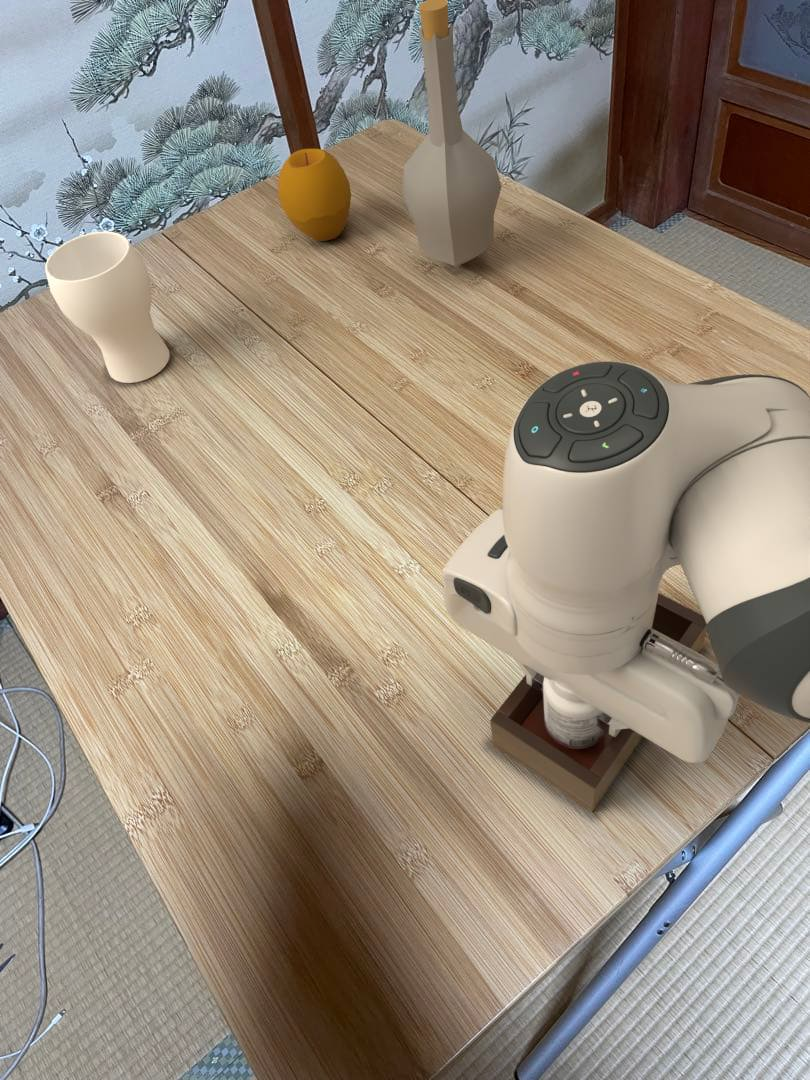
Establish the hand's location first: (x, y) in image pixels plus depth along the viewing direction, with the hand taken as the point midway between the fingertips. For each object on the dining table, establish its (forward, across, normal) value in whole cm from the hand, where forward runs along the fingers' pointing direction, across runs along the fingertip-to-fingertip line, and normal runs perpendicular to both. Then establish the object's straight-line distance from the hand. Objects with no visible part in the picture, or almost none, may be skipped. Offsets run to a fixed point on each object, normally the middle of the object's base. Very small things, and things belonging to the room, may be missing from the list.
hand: (575, 702), depth 62 cm
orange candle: (+6, +67, -43) cm, 80 cm away
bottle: (+6, +46, -46) cm, 65 cm away
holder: (+5, 0, -4) cm, 7 cm away
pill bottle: (+3, 0, 0) cm, 3 cm away
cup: (+5, +69, -11) cm, 70 cm away
